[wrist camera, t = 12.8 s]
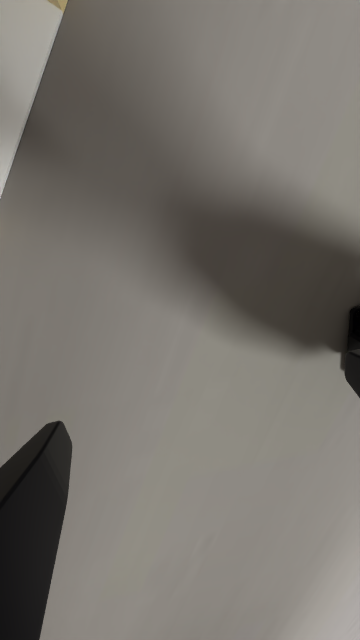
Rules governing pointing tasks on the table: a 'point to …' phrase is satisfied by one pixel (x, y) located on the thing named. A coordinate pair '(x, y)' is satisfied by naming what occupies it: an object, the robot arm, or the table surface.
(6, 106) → the bay
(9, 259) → the table surface
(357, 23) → the table surface
